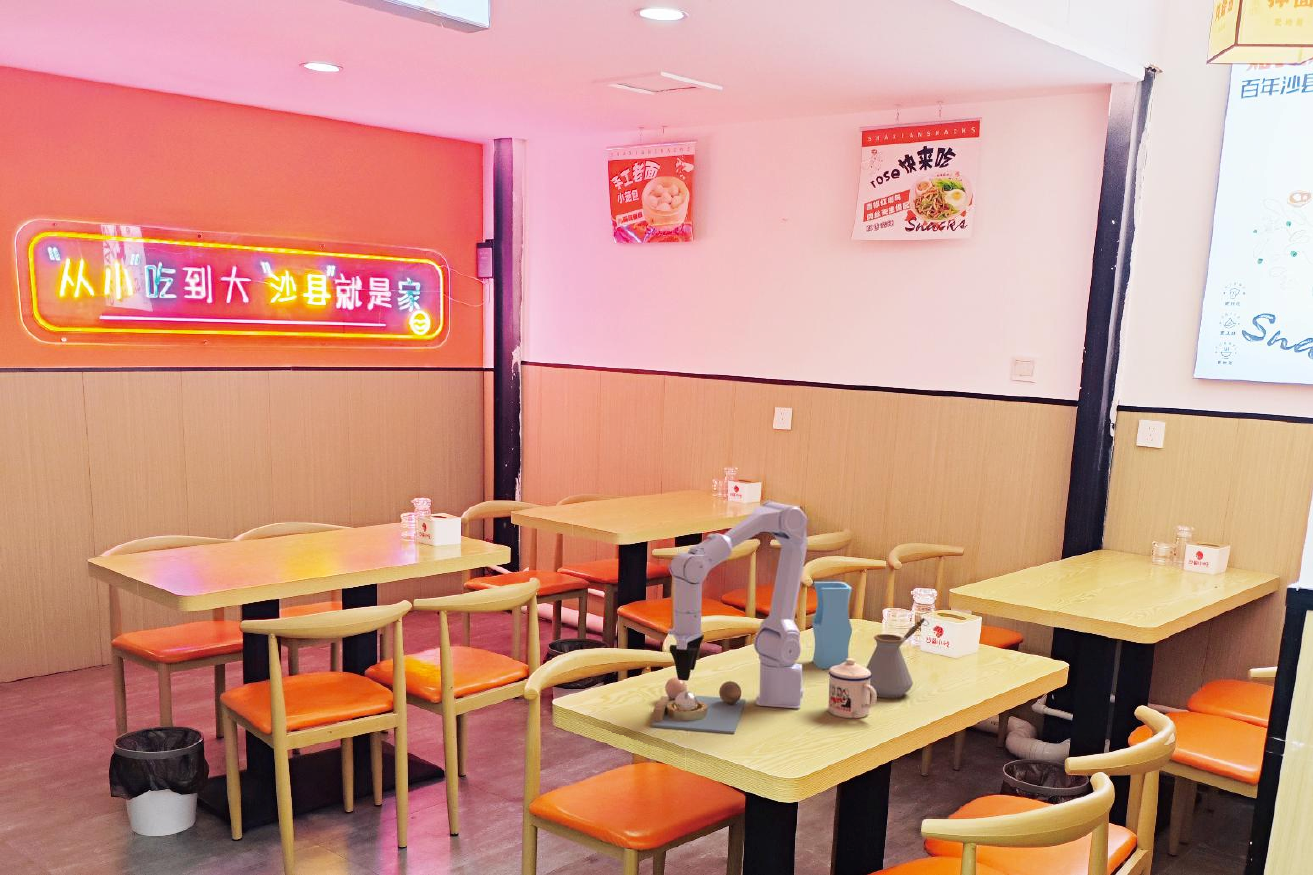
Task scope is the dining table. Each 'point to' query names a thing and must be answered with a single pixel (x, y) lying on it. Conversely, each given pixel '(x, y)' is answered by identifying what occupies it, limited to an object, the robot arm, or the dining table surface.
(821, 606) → the vase
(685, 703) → the silver steel ball
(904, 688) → the coffee pot
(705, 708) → the tan round shallow dish
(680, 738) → the dining table surface
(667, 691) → the terracotta ball
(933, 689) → the dining table surface
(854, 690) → the teacup with lid
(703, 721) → the slate mat
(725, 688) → the walnut ball
